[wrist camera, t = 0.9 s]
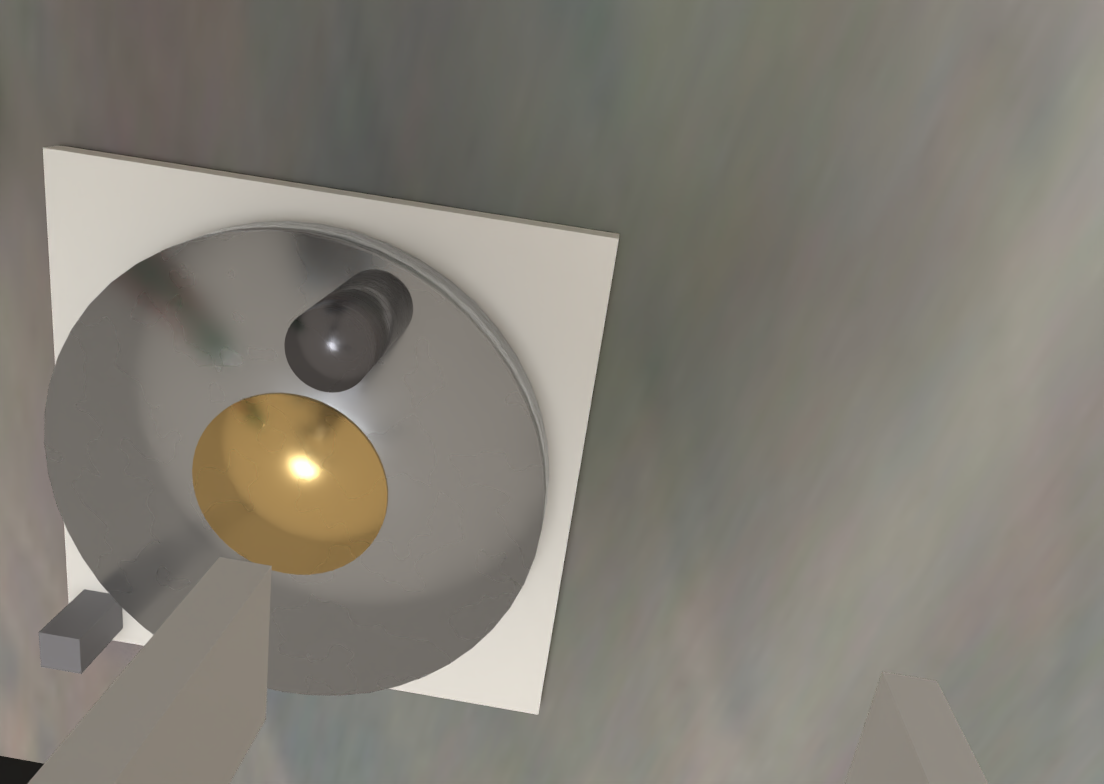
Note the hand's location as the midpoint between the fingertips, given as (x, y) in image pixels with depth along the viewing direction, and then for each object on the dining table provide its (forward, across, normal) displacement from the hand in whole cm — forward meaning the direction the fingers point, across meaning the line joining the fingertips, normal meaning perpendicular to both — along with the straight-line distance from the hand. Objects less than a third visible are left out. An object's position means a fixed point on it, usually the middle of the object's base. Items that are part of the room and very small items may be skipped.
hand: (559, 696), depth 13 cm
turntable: (+19, -10, -7) cm, 22 cm away
